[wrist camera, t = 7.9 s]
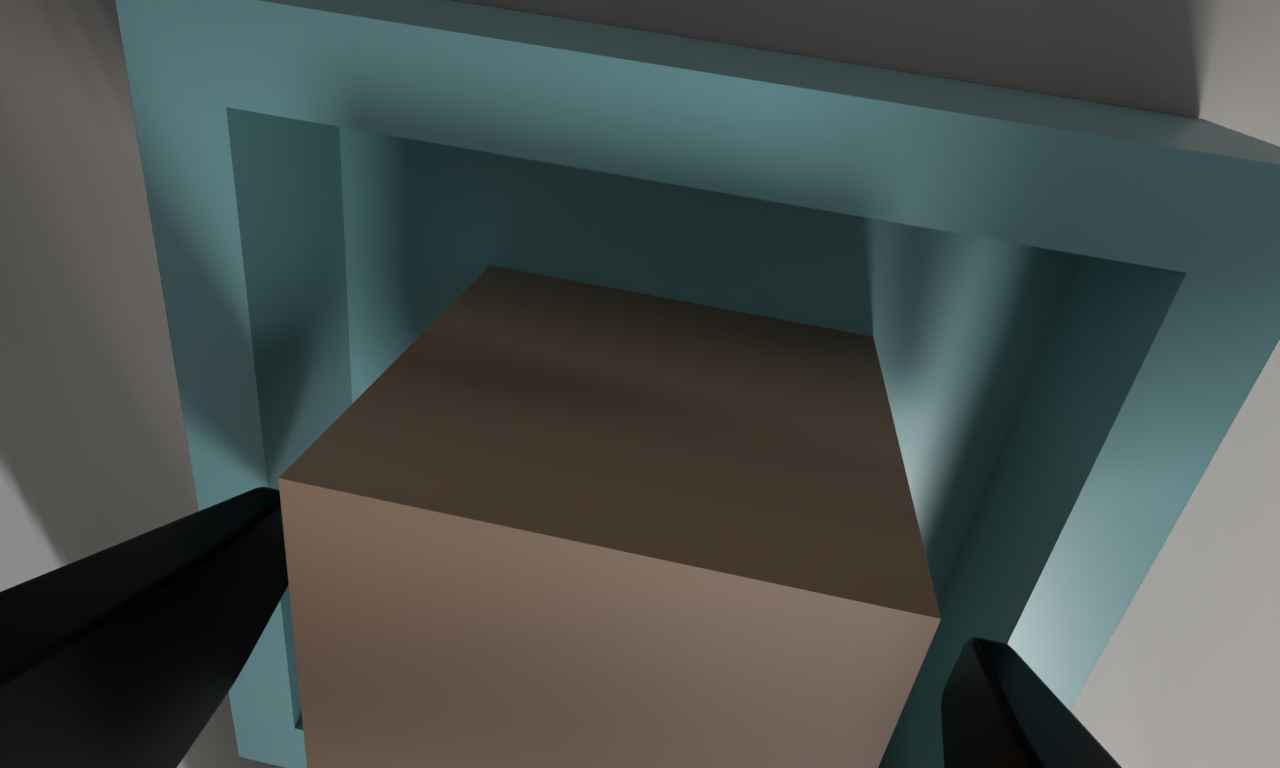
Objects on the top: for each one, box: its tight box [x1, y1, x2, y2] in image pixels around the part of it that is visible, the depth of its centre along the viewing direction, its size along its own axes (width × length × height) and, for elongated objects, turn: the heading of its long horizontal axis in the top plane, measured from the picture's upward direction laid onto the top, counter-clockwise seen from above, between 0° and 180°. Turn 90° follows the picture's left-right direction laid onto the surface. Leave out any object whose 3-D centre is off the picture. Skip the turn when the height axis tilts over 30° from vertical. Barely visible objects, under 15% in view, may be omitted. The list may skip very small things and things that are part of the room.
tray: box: [115, 0, 1280, 768], centre depth 11 cm, size 11×11×3 cm
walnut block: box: [278, 265, 941, 768], centre depth 9 cm, size 5×5×5 cm
